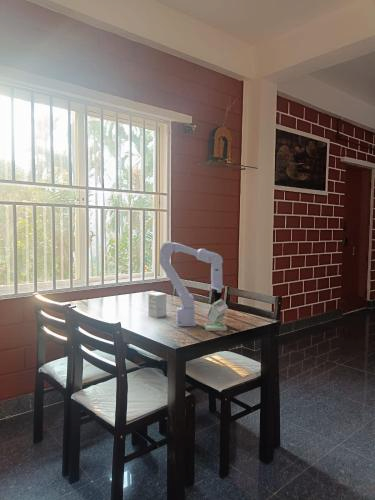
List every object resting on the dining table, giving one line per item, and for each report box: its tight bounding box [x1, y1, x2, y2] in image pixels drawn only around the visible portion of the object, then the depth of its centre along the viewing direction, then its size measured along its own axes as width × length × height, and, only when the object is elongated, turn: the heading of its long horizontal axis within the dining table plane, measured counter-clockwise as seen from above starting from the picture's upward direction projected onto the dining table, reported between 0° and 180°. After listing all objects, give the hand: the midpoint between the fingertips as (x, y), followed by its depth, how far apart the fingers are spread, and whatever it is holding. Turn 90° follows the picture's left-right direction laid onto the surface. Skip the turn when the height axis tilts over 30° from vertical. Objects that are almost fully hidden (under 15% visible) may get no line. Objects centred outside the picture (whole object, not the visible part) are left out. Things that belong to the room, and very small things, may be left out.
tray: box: [203, 322, 228, 332], centre depth 182 cm, size 10×9×1 cm
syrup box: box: [207, 298, 229, 323], centre depth 184 cm, size 6×6×14 cm
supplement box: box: [147, 291, 167, 319], centre depth 203 cm, size 7×7×13 cm
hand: (217, 304), depth 187 cm, fingers closed
